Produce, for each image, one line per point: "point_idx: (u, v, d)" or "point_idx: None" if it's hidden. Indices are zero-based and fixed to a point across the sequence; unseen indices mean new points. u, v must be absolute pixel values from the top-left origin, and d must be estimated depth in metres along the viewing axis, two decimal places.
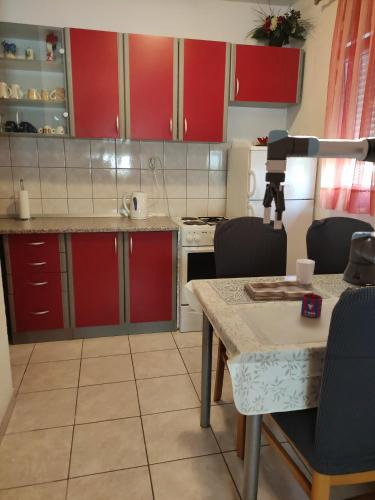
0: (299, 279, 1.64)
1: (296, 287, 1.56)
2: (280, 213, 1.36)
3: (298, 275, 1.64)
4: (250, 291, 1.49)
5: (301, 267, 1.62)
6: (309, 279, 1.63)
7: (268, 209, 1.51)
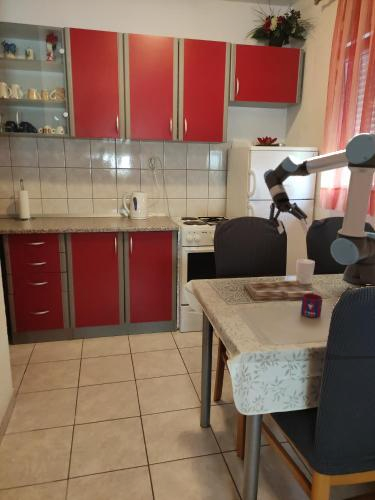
0: (299, 279, 1.64)
1: (296, 287, 1.56)
2: (274, 221, 1.71)
3: (298, 275, 1.64)
4: (250, 291, 1.49)
5: (301, 267, 1.62)
6: (309, 279, 1.63)
7: (301, 220, 1.75)
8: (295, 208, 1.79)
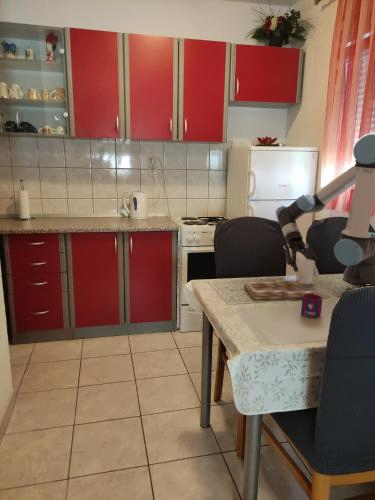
0: (299, 279, 1.64)
1: (296, 287, 1.56)
2: (293, 265, 1.64)
3: None
4: (250, 291, 1.49)
5: (301, 267, 1.62)
6: (309, 279, 1.63)
7: None
8: (308, 249, 1.71)
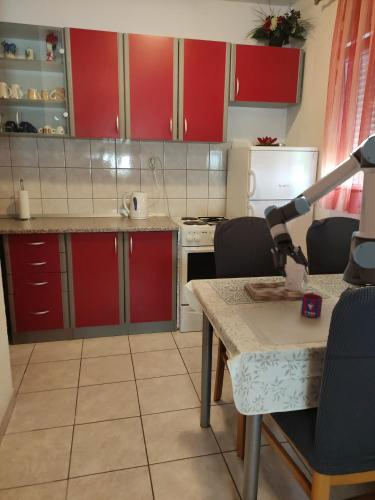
0: (288, 285, 1.50)
1: None
2: (281, 270, 1.50)
3: None
4: (250, 291, 1.49)
5: (290, 273, 1.48)
6: (299, 286, 1.49)
7: None
8: (298, 252, 1.57)
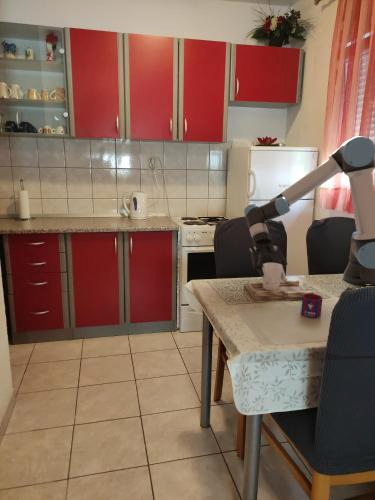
0: (265, 285, 1.50)
1: (296, 287, 1.56)
2: (259, 269, 1.49)
3: None
4: (250, 291, 1.49)
5: (267, 272, 1.47)
6: (276, 285, 1.48)
7: None
8: (277, 251, 1.56)
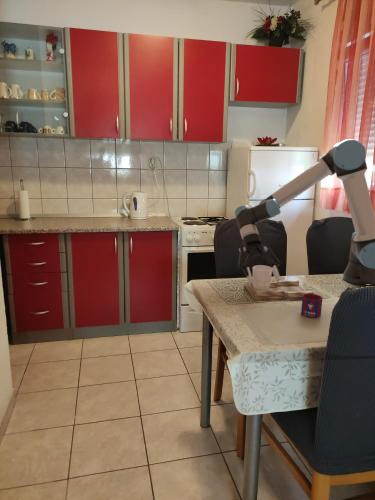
0: (255, 287, 1.49)
1: (296, 287, 1.56)
2: (243, 269, 1.48)
3: (254, 283, 1.49)
4: (250, 291, 1.49)
5: (257, 275, 1.47)
6: (266, 288, 1.48)
7: (273, 268, 1.52)
8: (268, 252, 1.56)
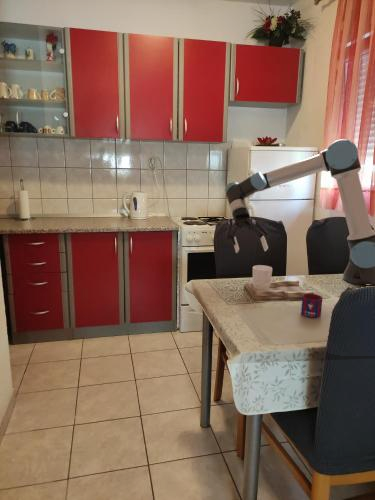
0: (255, 287, 1.49)
1: (296, 287, 1.56)
2: (231, 239, 1.58)
3: (254, 283, 1.49)
4: (250, 291, 1.49)
5: (257, 275, 1.47)
6: (266, 288, 1.48)
7: (262, 238, 1.62)
8: (256, 224, 1.66)
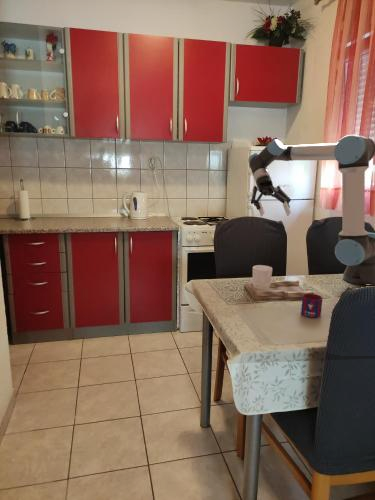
0: (255, 287, 1.49)
1: (296, 287, 1.56)
2: (256, 204, 1.70)
3: (254, 283, 1.49)
4: (250, 291, 1.49)
5: (257, 275, 1.47)
6: (266, 288, 1.48)
7: (284, 203, 1.73)
8: (278, 191, 1.77)
